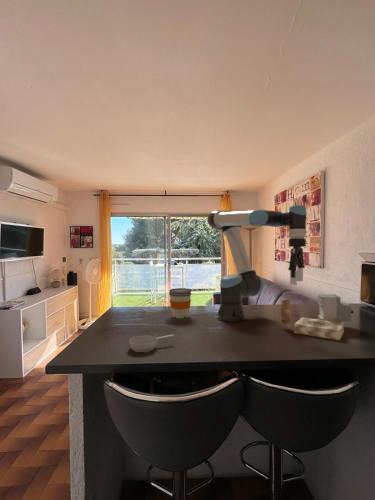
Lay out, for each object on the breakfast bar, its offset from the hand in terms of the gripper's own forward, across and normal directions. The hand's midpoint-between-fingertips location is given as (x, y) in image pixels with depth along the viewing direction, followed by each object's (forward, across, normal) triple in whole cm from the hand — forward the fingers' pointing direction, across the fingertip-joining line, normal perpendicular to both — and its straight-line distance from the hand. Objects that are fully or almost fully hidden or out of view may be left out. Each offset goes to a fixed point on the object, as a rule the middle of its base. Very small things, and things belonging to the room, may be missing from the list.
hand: (296, 282), depth 133 cm
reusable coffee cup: (+23, -10, +60) cm, 65 cm away
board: (+21, -2, -10) cm, 24 cm away
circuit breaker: (+22, +11, -16) cm, 29 cm away
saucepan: (+22, -56, +42) cm, 73 cm away
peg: (+22, -4, +4) cm, 22 cm away
